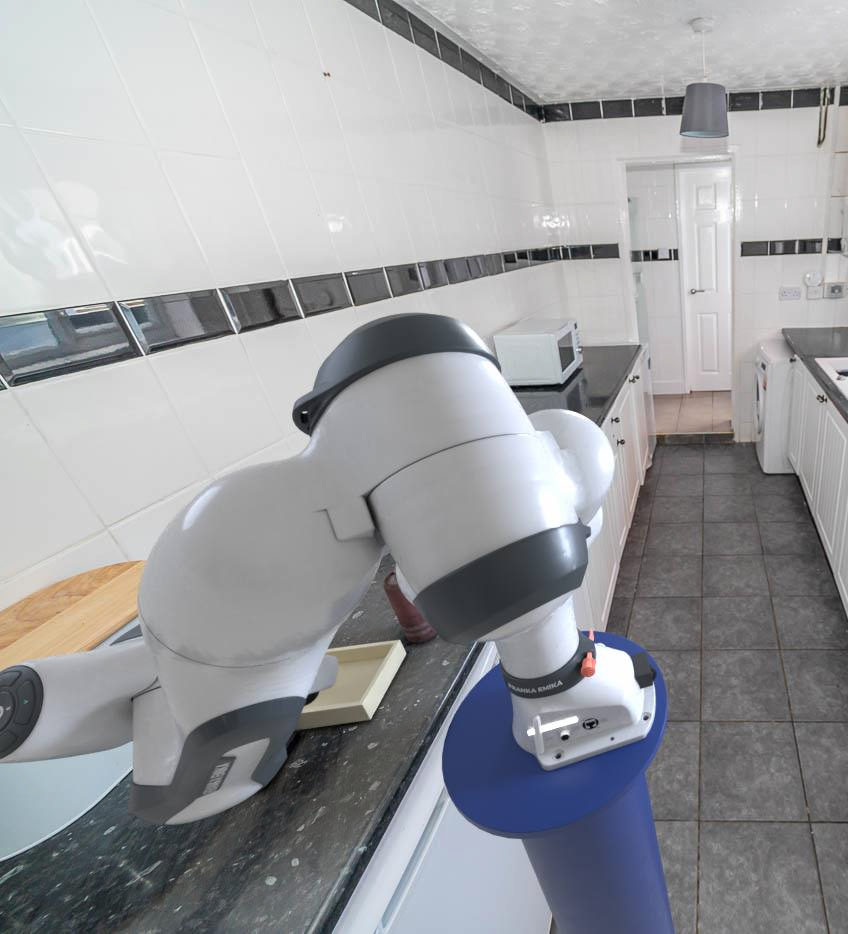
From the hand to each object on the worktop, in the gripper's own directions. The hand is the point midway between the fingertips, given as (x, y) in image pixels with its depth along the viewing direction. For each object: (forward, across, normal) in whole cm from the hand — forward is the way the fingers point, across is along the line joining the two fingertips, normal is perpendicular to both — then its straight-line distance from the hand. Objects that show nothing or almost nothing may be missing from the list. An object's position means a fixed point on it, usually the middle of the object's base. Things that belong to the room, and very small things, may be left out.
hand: (286, 678), depth 66 cm
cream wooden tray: (+19, -4, -3) cm, 20 cm away
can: (+28, +5, +5) cm, 29 cm away
